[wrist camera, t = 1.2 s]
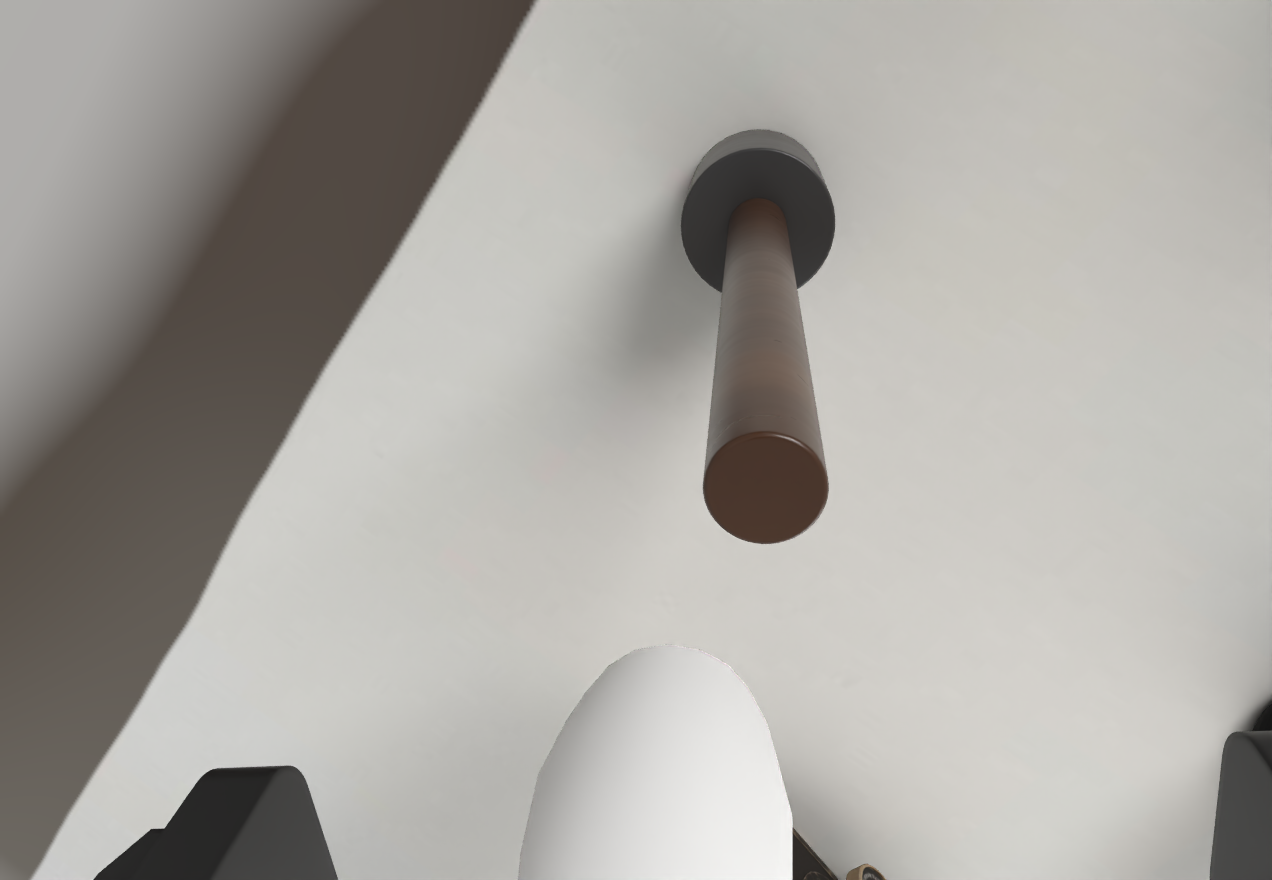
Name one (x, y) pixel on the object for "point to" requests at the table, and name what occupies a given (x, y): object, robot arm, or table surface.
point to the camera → (822, 865)
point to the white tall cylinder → (661, 779)
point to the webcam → (1264, 721)
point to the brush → (761, 330)
